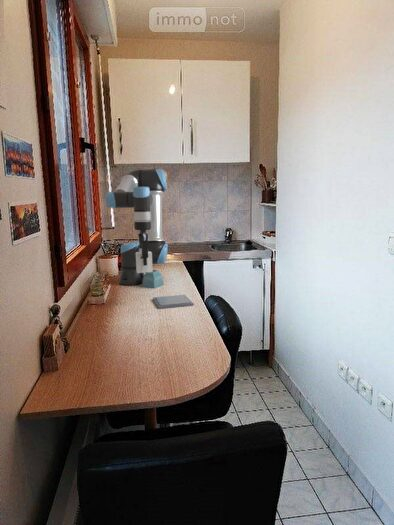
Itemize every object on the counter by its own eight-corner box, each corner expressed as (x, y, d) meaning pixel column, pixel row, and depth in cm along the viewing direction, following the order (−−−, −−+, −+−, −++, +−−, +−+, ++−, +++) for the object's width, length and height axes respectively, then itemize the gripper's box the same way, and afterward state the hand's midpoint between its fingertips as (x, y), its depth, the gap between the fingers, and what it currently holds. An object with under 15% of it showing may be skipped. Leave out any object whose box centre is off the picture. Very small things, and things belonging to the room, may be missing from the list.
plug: (136, 271, 178) (135, 248, 176) (151, 270, 180) (150, 247, 178) (137, 273, 173) (136, 249, 171) (152, 272, 175) (151, 249, 173)
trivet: (152, 299, 183) (152, 296, 183) (184, 296, 187) (184, 294, 187) (159, 308, 168) (158, 306, 168) (193, 305, 172) (193, 302, 172)
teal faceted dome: (163, 269, 210) (164, 285, 211) (151, 268, 214) (151, 283, 216) (154, 272, 202) (154, 289, 204) (141, 271, 207) (141, 287, 209)
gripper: (132, 220, 180) (134, 268, 184) (136, 222, 163) (138, 275, 167) (148, 219, 182) (149, 267, 186) (153, 222, 165) (155, 274, 169)
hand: (144, 270), depth 177 cm, fingers closed on plug, 5 cm apart
